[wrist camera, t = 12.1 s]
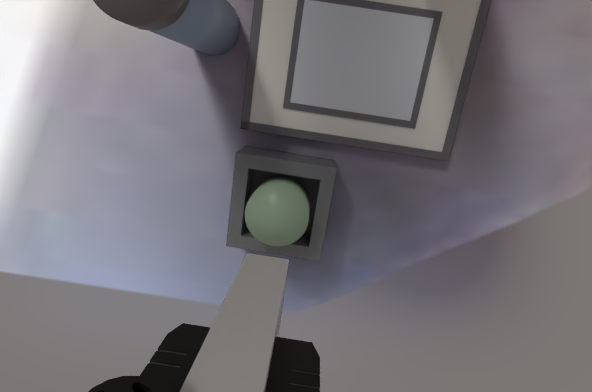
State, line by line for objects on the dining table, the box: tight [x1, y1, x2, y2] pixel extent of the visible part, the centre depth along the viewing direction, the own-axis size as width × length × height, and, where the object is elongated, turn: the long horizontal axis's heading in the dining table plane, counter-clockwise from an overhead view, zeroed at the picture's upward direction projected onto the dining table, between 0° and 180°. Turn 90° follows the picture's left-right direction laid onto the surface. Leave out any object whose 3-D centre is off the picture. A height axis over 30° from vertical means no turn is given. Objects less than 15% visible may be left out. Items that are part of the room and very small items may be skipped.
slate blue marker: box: [93, 0, 240, 55], centre depth 21 cm, size 4×4×12 cm
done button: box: [245, 176, 310, 246], centre depth 26 cm, size 4×4×3 cm
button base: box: [226, 146, 337, 261], centre depth 28 cm, size 7×7×3 cm
